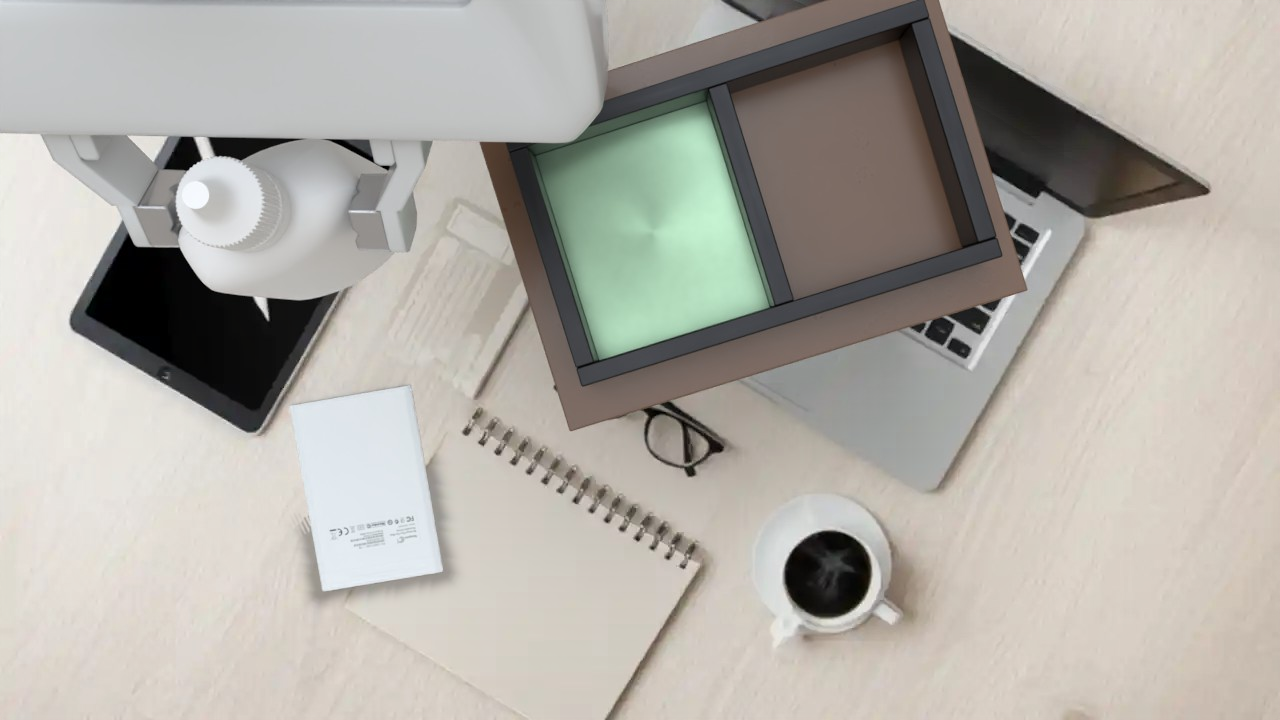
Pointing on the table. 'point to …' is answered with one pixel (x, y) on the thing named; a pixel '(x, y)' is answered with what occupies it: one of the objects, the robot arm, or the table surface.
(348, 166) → the eye dropper bottle
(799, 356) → the brown compartment tray
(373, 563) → the hard drive
